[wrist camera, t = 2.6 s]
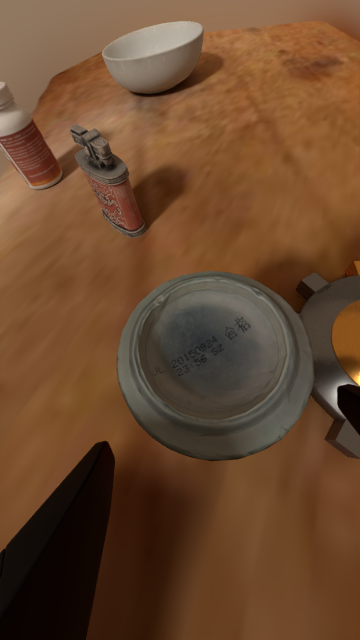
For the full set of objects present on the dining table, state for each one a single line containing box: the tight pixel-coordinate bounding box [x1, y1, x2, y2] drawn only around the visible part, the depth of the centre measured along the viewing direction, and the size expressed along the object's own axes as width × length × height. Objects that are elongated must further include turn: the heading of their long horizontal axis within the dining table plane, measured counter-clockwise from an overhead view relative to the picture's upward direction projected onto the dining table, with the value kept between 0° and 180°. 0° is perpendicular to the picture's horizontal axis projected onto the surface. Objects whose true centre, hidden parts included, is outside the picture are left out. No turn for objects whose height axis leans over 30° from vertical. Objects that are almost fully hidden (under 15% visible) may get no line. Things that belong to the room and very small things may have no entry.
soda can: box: [117, 271, 314, 461], centre depth 13 cm, size 7×7×12 cm
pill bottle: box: [0, 82, 63, 189], centre depth 32 cm, size 6×6×11 cm
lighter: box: [70, 124, 146, 238], centre depth 25 cm, size 8×3×10 cm, turn 43°
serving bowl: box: [102, 21, 203, 94], centre depth 47 cm, size 21×21×7 cm
